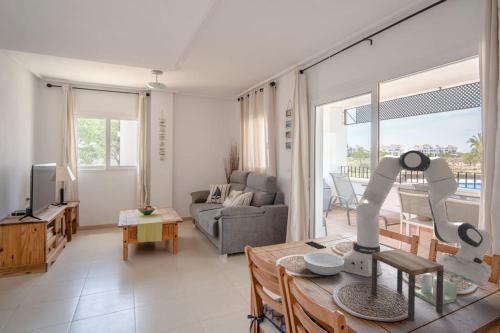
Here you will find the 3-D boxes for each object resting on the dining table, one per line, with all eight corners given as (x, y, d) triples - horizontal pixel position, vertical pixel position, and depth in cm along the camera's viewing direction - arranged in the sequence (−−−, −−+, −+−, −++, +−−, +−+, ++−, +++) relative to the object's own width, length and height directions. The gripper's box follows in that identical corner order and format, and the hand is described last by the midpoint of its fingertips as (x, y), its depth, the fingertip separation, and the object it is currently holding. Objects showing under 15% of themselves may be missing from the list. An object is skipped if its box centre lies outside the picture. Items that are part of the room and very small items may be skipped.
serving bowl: (346, 282, 133) (347, 268, 133) (303, 278, 137) (303, 264, 137) (341, 265, 154) (341, 253, 153) (303, 262, 158) (303, 251, 158)
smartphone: (318, 248, 181) (304, 242, 194) (318, 250, 181) (304, 243, 194) (326, 247, 184) (312, 241, 198) (326, 248, 184) (312, 242, 198)
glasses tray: (433, 290, 125) (434, 269, 125) (456, 300, 115) (456, 278, 115) (414, 294, 121) (414, 273, 121) (435, 305, 112) (436, 282, 111)
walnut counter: (411, 321, 101) (412, 270, 100) (371, 295, 120) (371, 252, 119) (442, 313, 106) (443, 265, 105) (399, 289, 125) (400, 248, 124)
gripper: (441, 248, 133) (426, 270, 131) (489, 263, 114) (472, 290, 111) (447, 256, 135) (432, 278, 132) (496, 272, 115) (480, 299, 113)
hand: (451, 284), depth 121 cm, fingers closed
